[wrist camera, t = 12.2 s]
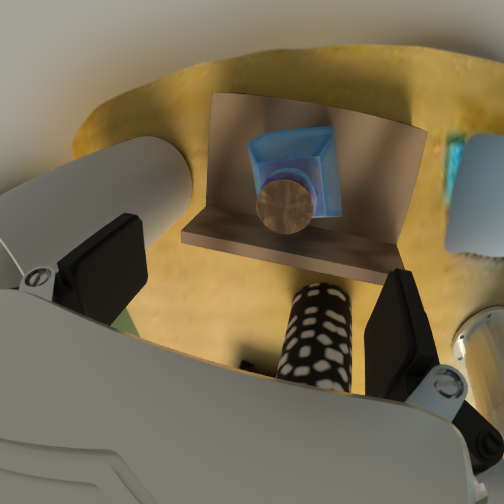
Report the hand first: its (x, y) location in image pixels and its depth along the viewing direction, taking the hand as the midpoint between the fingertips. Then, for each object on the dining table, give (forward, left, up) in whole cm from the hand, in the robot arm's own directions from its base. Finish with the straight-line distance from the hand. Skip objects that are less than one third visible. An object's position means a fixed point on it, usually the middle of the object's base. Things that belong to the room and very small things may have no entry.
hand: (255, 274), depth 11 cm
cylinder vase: (+19, +6, -24) cm, 32 cm away
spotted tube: (-6, +20, -24) cm, 32 cm away
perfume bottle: (0, 0, -19) cm, 19 cm away
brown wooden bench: (-1, +1, -24) cm, 24 cm away
